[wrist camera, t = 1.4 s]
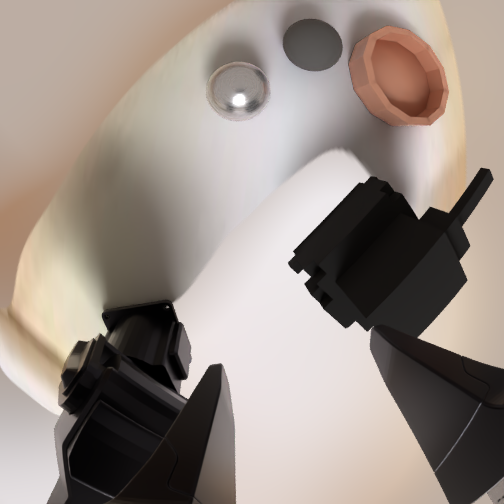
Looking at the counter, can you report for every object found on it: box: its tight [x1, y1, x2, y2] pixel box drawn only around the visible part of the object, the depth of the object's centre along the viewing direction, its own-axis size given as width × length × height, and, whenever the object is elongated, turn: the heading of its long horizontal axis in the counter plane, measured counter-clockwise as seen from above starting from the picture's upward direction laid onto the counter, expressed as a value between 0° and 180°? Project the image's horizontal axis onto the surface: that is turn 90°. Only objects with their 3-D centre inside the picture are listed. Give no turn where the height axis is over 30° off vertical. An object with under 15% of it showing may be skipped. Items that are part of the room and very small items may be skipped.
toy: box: [288, 168, 493, 338], centre depth 17 cm, size 8×14×10 cm, turn 136°
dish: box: [348, 26, 449, 126], centre depth 17 cm, size 8×8×2 cm
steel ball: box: [206, 62, 271, 121], centre depth 16 cm, size 4×4×4 cm
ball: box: [283, 19, 343, 71], centre depth 15 cm, size 4×4×4 cm
